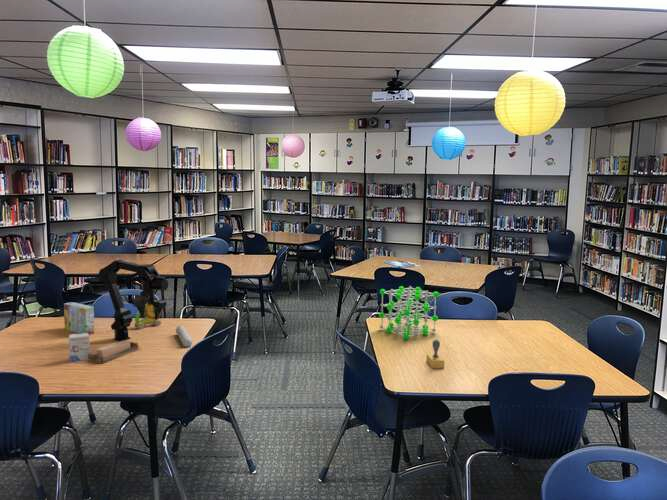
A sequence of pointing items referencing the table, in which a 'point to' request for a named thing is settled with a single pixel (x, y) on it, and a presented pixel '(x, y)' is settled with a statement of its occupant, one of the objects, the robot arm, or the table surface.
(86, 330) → the snack box
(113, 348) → the beige long block
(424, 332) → the molecular structure model
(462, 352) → the table surface
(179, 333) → the tube
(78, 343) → the ink box
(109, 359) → the wooden tray
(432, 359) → the rubber stamp
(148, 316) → the toy lion
